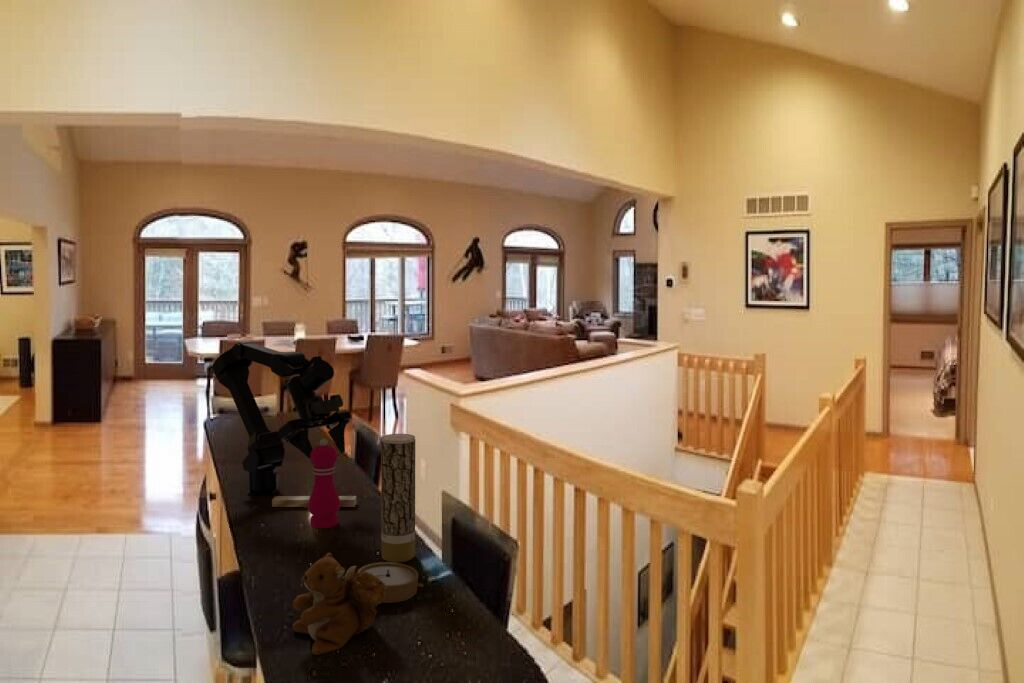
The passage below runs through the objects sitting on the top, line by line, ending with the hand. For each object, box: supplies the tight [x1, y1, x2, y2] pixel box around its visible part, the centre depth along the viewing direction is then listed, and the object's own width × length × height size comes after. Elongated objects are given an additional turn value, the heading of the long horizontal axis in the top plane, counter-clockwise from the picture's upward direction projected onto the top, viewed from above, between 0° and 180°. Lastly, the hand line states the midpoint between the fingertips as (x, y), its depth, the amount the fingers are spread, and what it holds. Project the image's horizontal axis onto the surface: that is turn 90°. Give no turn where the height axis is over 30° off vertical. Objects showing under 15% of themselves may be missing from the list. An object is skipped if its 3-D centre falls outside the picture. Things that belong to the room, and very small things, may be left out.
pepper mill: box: [307, 438, 341, 529], centre depth 164 cm, size 7×7×20 cm
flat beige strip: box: [271, 495, 357, 509], centre depth 177 cm, size 20×3×2 cm, turn 93°
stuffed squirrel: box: [292, 552, 388, 656], centre depth 114 cm, size 10×14×13 cm
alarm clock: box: [342, 561, 424, 604], centre depth 129 cm, size 11×5×15 cm
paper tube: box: [380, 433, 416, 564], centre depth 145 cm, size 7×7×25 cm
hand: (329, 456), depth 173 cm, fingers open, 9 cm apart
